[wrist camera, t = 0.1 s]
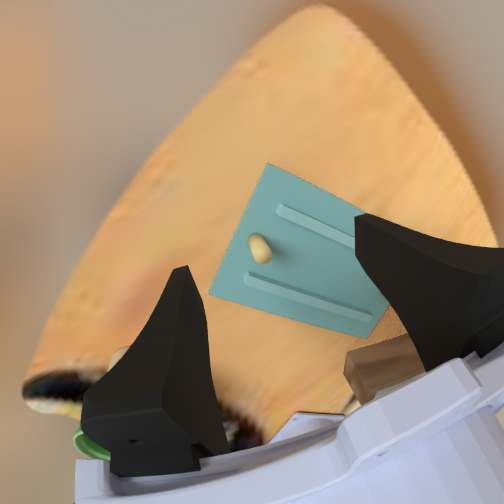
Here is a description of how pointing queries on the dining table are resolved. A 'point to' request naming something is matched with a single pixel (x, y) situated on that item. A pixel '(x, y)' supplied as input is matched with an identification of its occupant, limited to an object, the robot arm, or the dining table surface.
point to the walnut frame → (382, 367)
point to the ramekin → (89, 446)
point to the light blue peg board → (299, 258)
